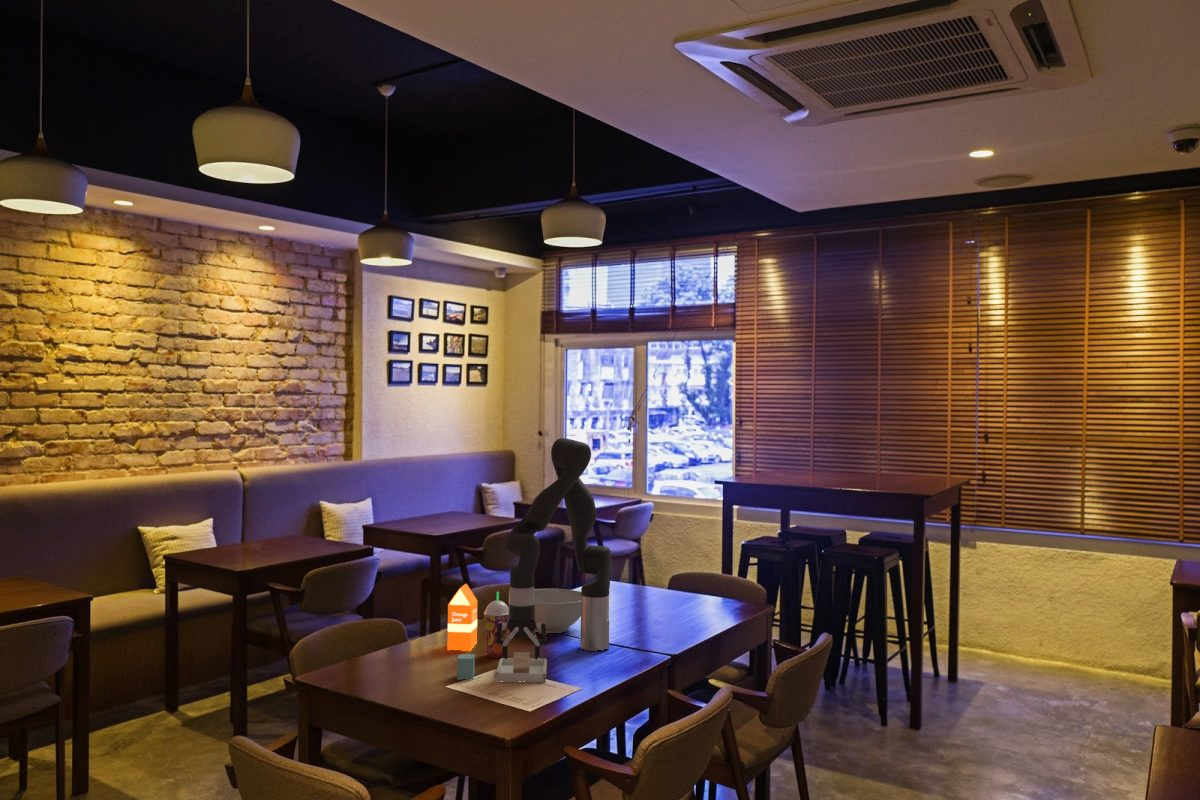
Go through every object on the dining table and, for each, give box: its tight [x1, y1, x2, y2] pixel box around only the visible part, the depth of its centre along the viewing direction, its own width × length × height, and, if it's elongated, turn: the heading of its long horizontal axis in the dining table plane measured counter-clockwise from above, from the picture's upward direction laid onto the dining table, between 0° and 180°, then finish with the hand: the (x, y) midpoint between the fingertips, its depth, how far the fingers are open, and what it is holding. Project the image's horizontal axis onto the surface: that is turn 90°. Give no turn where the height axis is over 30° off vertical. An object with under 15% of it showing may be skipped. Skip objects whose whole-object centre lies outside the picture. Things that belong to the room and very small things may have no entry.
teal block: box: [456, 653, 476, 681], centre depth 253 cm, size 4×4×6 cm
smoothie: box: [483, 591, 510, 659], centre depth 276 cm, size 8×8×20 cm
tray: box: [495, 657, 548, 683], centre depth 257 cm, size 14×16×2 cm
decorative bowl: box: [533, 588, 581, 634], centre depth 311 cm, size 27×27×12 cm
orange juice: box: [446, 583, 478, 652], centre depth 286 cm, size 8×9×20 cm
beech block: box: [513, 651, 531, 673], centre depth 253 cm, size 4×4×6 cm
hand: (521, 658), depth 253 cm, fingers open, 8 cm apart
